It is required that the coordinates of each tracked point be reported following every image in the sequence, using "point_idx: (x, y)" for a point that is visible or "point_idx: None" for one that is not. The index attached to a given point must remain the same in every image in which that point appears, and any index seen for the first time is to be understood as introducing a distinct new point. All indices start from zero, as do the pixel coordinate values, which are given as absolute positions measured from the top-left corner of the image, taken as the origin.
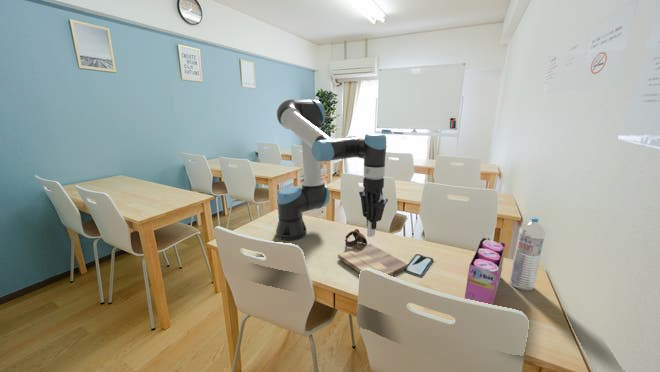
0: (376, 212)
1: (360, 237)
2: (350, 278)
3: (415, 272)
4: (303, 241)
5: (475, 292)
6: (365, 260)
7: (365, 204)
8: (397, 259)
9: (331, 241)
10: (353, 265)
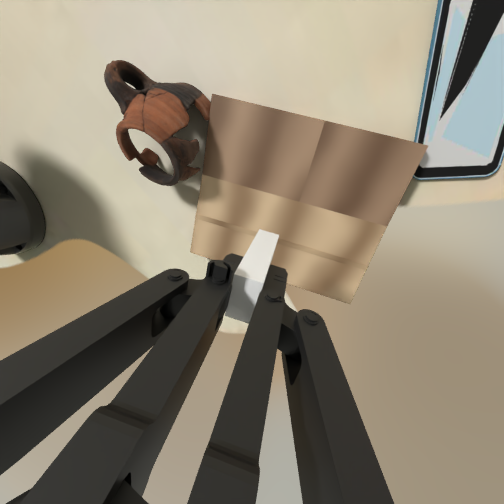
0: (298, 436)
1: (177, 141)
2: None
3: (465, 161)
4: (62, 220)
5: None
6: (273, 227)
7: (99, 371)
8: (373, 137)
9: (102, 164)
10: None
